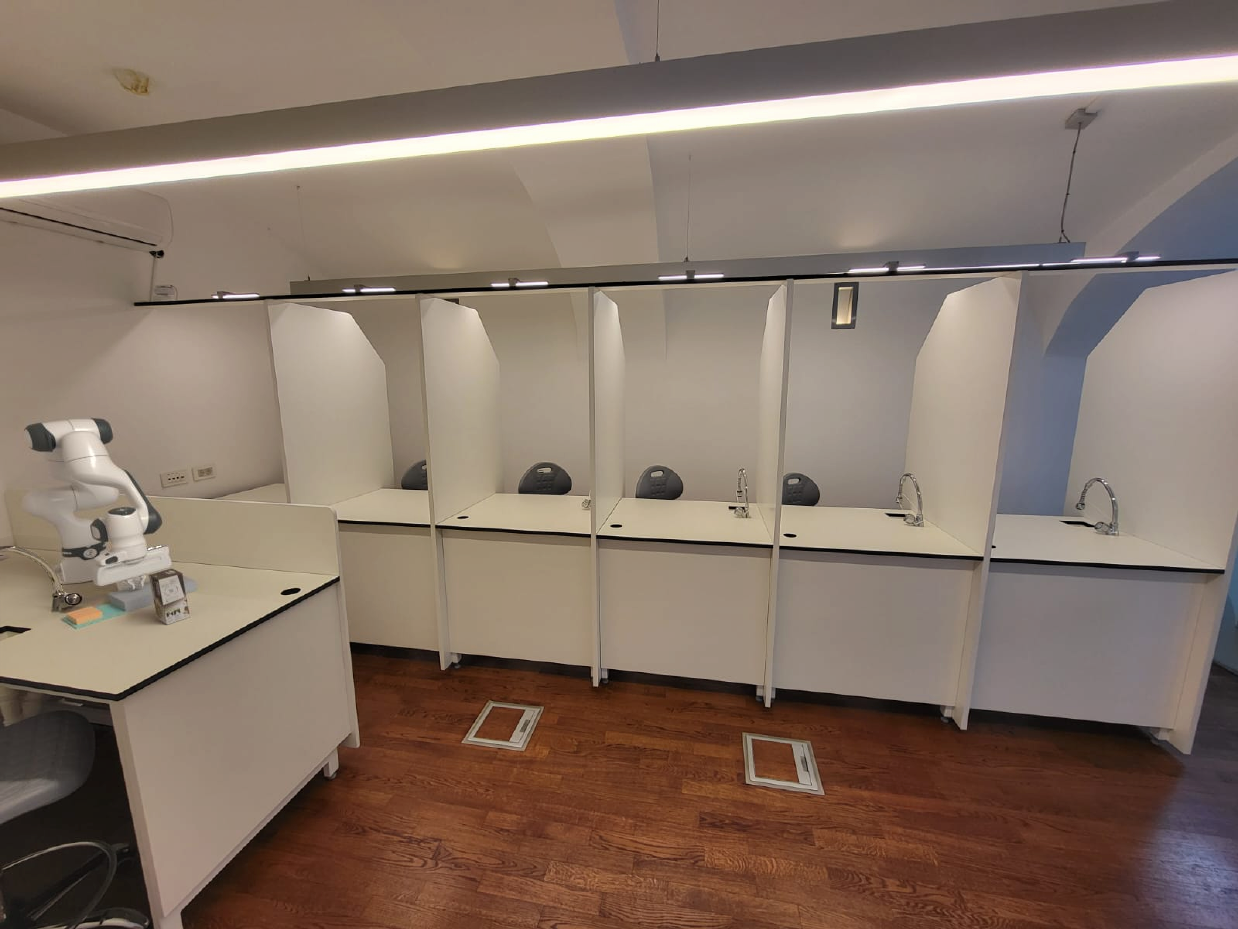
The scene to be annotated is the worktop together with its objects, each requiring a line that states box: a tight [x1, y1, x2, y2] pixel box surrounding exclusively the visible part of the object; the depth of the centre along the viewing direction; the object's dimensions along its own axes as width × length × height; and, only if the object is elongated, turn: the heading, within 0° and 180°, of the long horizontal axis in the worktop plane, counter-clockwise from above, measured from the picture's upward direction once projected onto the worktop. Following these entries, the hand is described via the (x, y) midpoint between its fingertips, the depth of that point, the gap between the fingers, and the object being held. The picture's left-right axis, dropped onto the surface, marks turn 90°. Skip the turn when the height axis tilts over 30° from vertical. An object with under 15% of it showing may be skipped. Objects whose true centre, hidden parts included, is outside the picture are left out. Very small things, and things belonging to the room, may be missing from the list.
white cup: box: [115, 576, 140, 591], centre depth 184 cm, size 8×8×10 cm
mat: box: [60, 603, 126, 629], centre depth 163 cm, size 14×12×1 cm
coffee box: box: [148, 568, 191, 625], centre depth 160 cm, size 9×6×16 cm
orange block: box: [65, 605, 103, 625], centre depth 161 cm, size 9×6×2 cm, turn 63°
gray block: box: [107, 575, 198, 614], centre depth 177 cm, size 14×20×4 cm
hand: (137, 587), depth 173 cm, fingers closed
